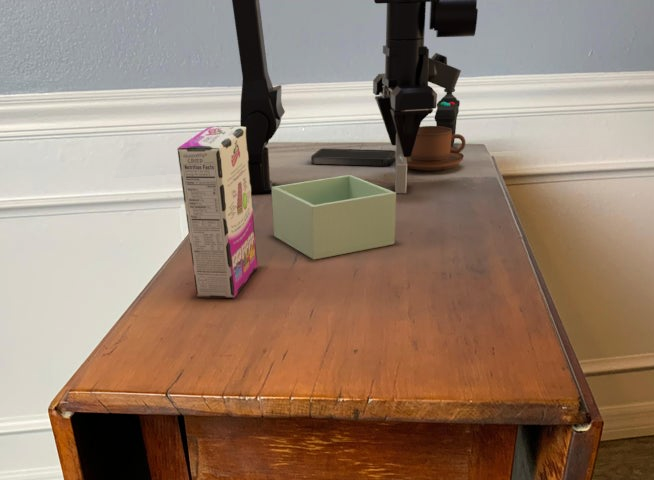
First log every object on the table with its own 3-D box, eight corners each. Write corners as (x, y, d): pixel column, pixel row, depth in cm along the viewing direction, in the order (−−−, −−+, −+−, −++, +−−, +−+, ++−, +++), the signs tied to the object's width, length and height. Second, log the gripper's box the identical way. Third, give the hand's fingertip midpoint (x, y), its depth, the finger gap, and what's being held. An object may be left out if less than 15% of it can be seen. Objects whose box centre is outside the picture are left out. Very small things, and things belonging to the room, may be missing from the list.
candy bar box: (220, 266, 101) (206, 125, 91) (258, 267, 100) (248, 125, 90) (193, 298, 92) (175, 145, 82) (234, 299, 91) (221, 145, 82)
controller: (457, 143, 158) (461, 86, 153) (453, 156, 149) (458, 96, 143) (436, 142, 159) (439, 86, 153) (430, 156, 149) (433, 96, 144)
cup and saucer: (443, 157, 148) (446, 121, 144) (474, 170, 139) (478, 132, 135) (384, 164, 145) (385, 127, 141) (412, 178, 136) (413, 139, 132)
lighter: (406, 193, 128) (408, 139, 123) (395, 193, 128) (397, 139, 123) (404, 182, 133) (406, 130, 129) (394, 182, 134) (396, 130, 129)
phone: (389, 159, 142) (309, 156, 146) (389, 166, 143) (309, 163, 147) (398, 150, 149) (321, 148, 152) (397, 156, 149) (321, 154, 153)
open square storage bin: (274, 236, 111) (271, 186, 107) (350, 222, 115) (350, 174, 111) (313, 259, 102) (312, 206, 98) (394, 244, 106) (396, 192, 102)
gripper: (475, 41, 111) (466, 160, 120) (441, 30, 126) (435, 137, 136) (397, 45, 111) (394, 164, 120) (373, 34, 126) (371, 140, 135)
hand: (401, 150), depth 127 cm, fingers open, 9 cm apart
